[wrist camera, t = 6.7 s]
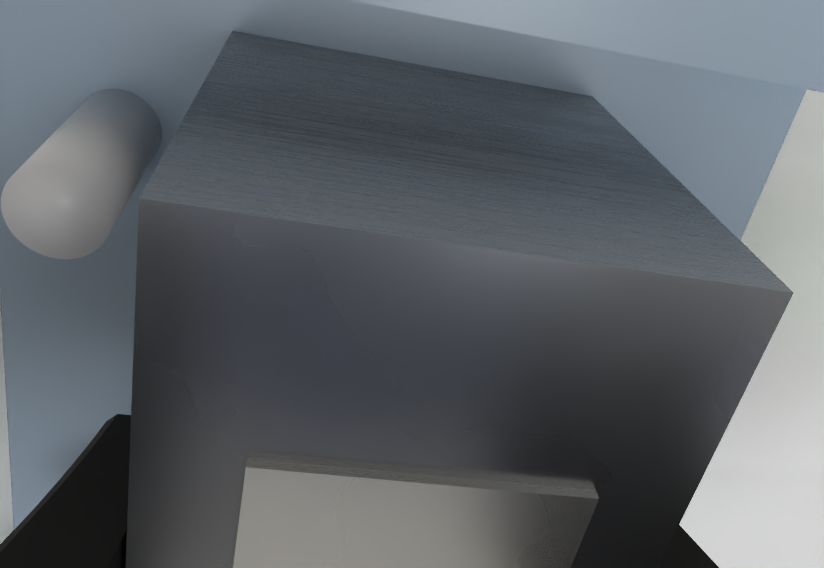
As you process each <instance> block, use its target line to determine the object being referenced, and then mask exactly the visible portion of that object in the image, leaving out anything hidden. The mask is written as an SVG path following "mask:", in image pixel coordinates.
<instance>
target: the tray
mask: <svg viewBox="0 0 824 568" xmlns="http://www.w3.org/2000/svg"><path fill="white" fill-rule="evenodd" d="M232 31H238V32H243V33H249V34H254V35H260V36H265V37H271V38H276V39H281V40H287V41H292V42H298V43H303V44H309V45H314V46H320V47H325V48H331V49H336V50H342V51H347V52H353V53H358V54H364V55H369V56H375V57H380V58H385V59H391V60H396V61H402V62H407V63H413V64H418V65H424V66H429V67H435V68H440V69H446V70H451V71H457V72H462V73H468V74H473V75H479V76H484V77H489V78H495V79H500V80H506V81H511V82H517V83H522V84H528V85H533V86H539V87H544V88H550V89H555V90H561V91H566V92H572V93H577V94H583V95H588V96H593V97H594V98H595V99H596V100H597V101H598V102H599V103H600V104H601V105H602V106H603V107H604V108H605V109H606V110H607V111H608V112H609V113H610V114H611V115H612V116H613V117H614V118H615V119H616V120H617V121H618V122H619V123H620V124H621V125H622V126H624V127H625V128H626V129H627V130H628V131H629V132H630V133H631V134H632V135H633V136H634V137H635V138H636V139H637V140H638V141H639V142H640V143H641V144H642V145H643V146H644V147H645V148H646V149H647V150H648V151H649V152H650V153H651V154H652V155H653V156H654V157H655V158H656V159H657V160H658V161H659V162H660V163H661V164H662V165H663V166H664V167H665V168H666V169H667V170H668V171H669V172H670V173H672V174H673V175H674V176H675V177H676V178H677V179H678V180H679V181H680V182H681V183H682V184H683V185H684V186H685V187H686V188H687V189H688V190H689V191H690V192H691V193H692V194H693V195H694V196H695V197H696V198H697V199H698V200H699V201H700V202H701V203H702V204H703V205H704V206H705V207H706V208H707V209H708V210H709V211H710V212H711V213H712V214H713V215H714V216H715V217H716V218H717V219H718V220H720V221H721V222H722V223H723V224H724V225H725V226H726V227H727V228H728V229H729V230H730V231H731V232H732V233H733V234H734V235H735V236H736V237H737V238H738V239H739V240H740V239H741V237H742V235H743V232H744V230H745V228H746V226H747V223H748V221H749V219H750V217H751V214H752V212H753V210H754V207H755V205H756V203H757V201H758V198H759V196H760V194H761V192H762V189H763V187H764V185H765V183H766V180H767V178H768V176H769V173H770V171H771V169H772V167H773V164H774V162H775V160H776V158H777V155H778V153H779V151H780V149H781V146H782V144H783V142H784V139H785V137H786V135H787V133H788V130H789V128H790V126H791V124H792V121H793V119H794V117H795V115H796V112H797V110H798V108H799V105H800V103H801V101H802V99H803V96H804V94H805V92H806V90H807V89H810V90H815V91H820V92H824V0H0V298H1V315H2V332H3V350H4V367H5V384H6V401H7V418H8V436H9V453H10V470H11V487H12V505H13V522H14V529H15V528H16V527H17V526H18V525H19V524H20V523H21V522H22V521H23V520H24V519H25V518H26V517H27V516H28V514H29V513H30V512H31V511H32V510H33V509H34V508H35V507H36V506H37V505H38V504H39V502H40V501H41V500H42V499H43V498H44V497H45V496H46V494H47V493H48V492H49V491H50V490H51V489H52V488H53V486H54V485H55V484H56V483H57V482H58V481H59V480H60V478H61V477H62V476H63V475H64V474H65V472H66V471H67V470H68V469H69V468H70V467H71V465H72V464H73V463H74V462H75V461H76V459H77V458H78V457H79V456H80V454H81V453H82V452H83V451H84V449H85V448H86V447H87V446H88V444H89V443H90V442H91V441H92V439H93V438H94V437H95V436H96V434H97V433H98V432H99V430H100V429H101V428H102V426H103V425H104V424H105V422H106V421H107V420H109V419H110V418H112V417H113V416H115V415H117V414H125V415H131V403H132V375H133V347H134V319H135V292H136V264H137V236H138V208H139V197H140V196H141V194H142V192H143V190H144V188H145V187H146V185H147V183H148V181H149V179H150V178H151V176H152V174H153V172H154V170H155V169H156V167H157V165H158V163H159V161H160V160H161V158H162V156H163V154H164V152H165V151H166V149H167V147H168V145H169V143H170V142H171V140H172V138H173V136H174V134H175V133H176V131H177V129H178V127H179V125H180V124H181V122H182V120H183V118H184V117H185V115H186V113H187V111H188V109H189V108H190V106H191V104H192V102H193V100H194V99H195V97H196V95H197V93H198V91H199V90H200V88H201V86H202V84H203V82H204V81H205V79H206V77H207V75H208V73H209V72H210V70H211V68H212V66H213V64H214V63H215V61H216V59H217V57H218V55H219V54H220V52H221V50H222V48H223V46H224V45H225V43H226V41H227V39H228V37H229V36H230V34H231V32H232Z"/></svg>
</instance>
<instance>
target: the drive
mask: <svg viewBox="0 0 824 568" xmlns="http://www.w3.org/2000/svg"><path fill="white" fill-rule="evenodd" d="M792 294H793V292H792V291H791V290H790V289H789V288H788V287H787V286H786V285H785V284H784V283H783V282H782V281H781V280H780V279H779V278H778V277H777V276H776V275H775V274H774V273H773V272H772V271H771V270H770V269H769V268H768V267H766V266H765V265H764V264H763V263H762V262H761V261H760V260H759V259H758V258H757V257H756V256H755V255H754V254H753V253H752V252H751V251H750V250H749V249H748V248H747V247H746V246H745V245H744V244H743V243H742V242H741V241H740V240H739V239H738V238H737V237H736V236H735V235H734V234H733V233H732V232H731V231H730V230H729V229H728V228H727V227H726V226H725V225H724V224H723V223H722V222H721V221H720V220H718V219H717V218H716V217H715V216H714V215H713V214H712V213H711V212H710V211H709V210H708V209H707V208H706V207H705V206H704V205H703V204H702V203H701V202H700V201H699V200H698V199H697V198H696V197H695V196H694V195H693V194H692V193H691V192H690V191H689V190H688V189H687V188H686V187H685V186H684V185H683V184H682V183H681V182H680V181H679V180H678V179H677V178H676V177H675V176H674V175H673V174H672V173H670V172H669V171H668V170H667V169H666V168H665V167H664V166H663V165H662V164H661V163H660V162H659V161H658V160H657V159H656V158H655V157H654V156H653V155H652V154H651V153H650V152H649V151H648V150H647V149H646V148H645V147H644V146H643V145H642V144H641V143H640V142H639V141H638V140H637V139H636V138H635V137H634V136H633V135H632V134H631V133H630V132H629V131H628V130H627V129H626V128H625V127H624V126H622V125H621V124H620V123H619V122H618V121H617V120H616V119H615V118H614V117H613V116H612V115H611V114H610V113H609V112H608V111H607V110H606V109H605V108H604V107H603V106H602V105H601V104H600V103H599V102H598V101H597V100H596V99H595V98H594V97H593V96H588V95H583V94H577V93H572V92H566V91H561V90H555V89H550V88H544V87H539V86H533V85H528V84H522V83H517V82H511V81H506V80H500V79H495V78H489V77H484V76H479V75H473V74H468V73H462V72H457V71H451V70H446V69H440V68H435V67H429V66H424V65H418V64H413V63H407V62H402V61H396V60H391V59H385V58H380V57H375V56H369V55H364V54H358V53H353V52H347V51H342V50H336V49H331V48H325V47H320V46H314V45H309V44H303V43H298V42H292V41H287V40H281V39H276V38H271V37H265V36H260V35H254V34H249V33H243V32H238V31H232V32H231V34H230V36H229V37H228V39H227V41H226V43H225V45H224V46H223V48H222V50H221V52H220V54H219V55H218V57H217V59H216V61H215V63H214V64H213V66H212V68H211V70H210V72H209V73H208V75H207V77H206V79H205V81H204V82H203V84H202V86H201V88H200V90H199V91H198V93H197V95H196V97H195V99H194V100H193V102H192V104H191V106H190V108H189V109H188V111H187V113H186V115H185V117H184V118H183V120H182V122H181V124H180V125H179V127H178V129H177V131H176V133H175V134H174V136H173V138H172V140H171V142H170V143H169V145H168V147H167V149H166V151H165V152H164V154H163V156H162V158H161V160H160V161H159V163H158V165H157V167H156V169H155V170H154V172H153V174H152V176H151V178H150V179H149V181H148V183H147V185H146V187H145V188H144V190H143V192H142V194H141V196H140V197H139V208H138V236H137V264H136V292H135V319H134V347H133V375H132V403H131V430H130V458H129V486H128V514H127V541H126V568H658V566H659V564H660V562H661V559H662V557H663V555H664V553H665V551H666V549H667V547H668V545H669V543H670V541H671V539H672V537H673V535H674V533H675V531H676V529H677V527H678V525H679V523H680V521H681V519H682V517H683V515H684V513H685V511H686V509H687V507H688V505H689V503H690V501H691V499H692V497H693V495H694V493H695V491H696V489H697V487H698V485H699V483H700V481H701V479H702V477H703V475H704V472H705V470H706V468H707V466H708V464H709V462H710V460H711V458H712V456H713V454H714V452H715V450H716V448H717V446H718V444H719V442H720V440H721V438H722V436H723V434H724V432H725V430H726V428H727V426H728V424H729V422H730V420H731V418H732V416H733V414H734V412H735V410H736V408H737V406H738V404H739V402H740V400H741V398H742V396H743V394H744V392H745V390H746V388H747V385H748V383H749V381H750V379H751V377H752V375H753V373H754V371H755V369H756V367H757V365H758V363H759V361H760V359H761V357H762V355H763V353H764V351H765V349H766V347H767V345H768V343H769V341H770V339H771V337H772V335H773V333H774V331H775V329H776V327H777V325H778V323H779V321H780V319H781V317H782V315H783V313H784V311H785V309H786V307H787V305H788V303H789V301H790V299H791V296H792Z"/></svg>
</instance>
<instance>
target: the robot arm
mask: <svg viewBox="0 0 824 568" xmlns="http://www.w3.org/2000/svg"><path fill="white" fill-rule="evenodd" d="M130 430H131V415H125V414H117V415H115V416H113V417H112V418H110V419H109V420H107V421H106V422H105V424H104V425H103V426H102V428H101V429H100V430H99V432H98V433H97V434H96V436H95V437H94V438H93V439H92V441H91V442H90V443H89V444H88V446H87V447H86V448H85V449H84V451H83V452H82V453H81V454H80V456H79V457H78V458H77V459H76V461H75V462H74V463H73V464H72V465H71V467H70V468H69V469H68V470H67V471H66V472H65V474H64V475H63V476H62V477H61V478H60V480H59V481H58V482H57V483H56V484H55V485H54V486H53V488H52V489H51V490H50V491H49V492H48V493H47V494H46V496H45V497H44V498H43V499H42V500H41V501H40V502H39V504H38V505H37V506H36V507H35V508H34V509H33V510H32V511H31V512H30V513H29V514H28V516H27V517H26V518H25V519H24V520H23V521H22V522H21V523H20V524H19V525H18V526H17V527H16V528H15V529H14V531H13V532H12V533H11V534H10V535H9V536H8V537H7V538H6V539H5V540H4V541H3V542H2V543H1V544H0V568H126V541H127V514H128V486H129V458H130ZM658 568H719V567H718V566H717V565H716V564H715V563H714V562H713V561H712V560H711V559H710V558H709V557H708V555H707V554H706V553H705V552H704V551H703V550H702V549H701V548H700V547H699V546H698V545H697V544H696V543H695V541H694V540H693V539H692V538H691V537H690V536H689V535H688V534H687V533H686V532H685V531H684V530H683V529H682V527H681V526H680V525H678V527H677V529H676V531H675V533H674V535H673V537H672V539H671V541H670V543H669V545H668V547H667V549H666V551H665V553H664V555H663V557H662V559H661V562H660V564H659V566H658Z"/></svg>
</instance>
